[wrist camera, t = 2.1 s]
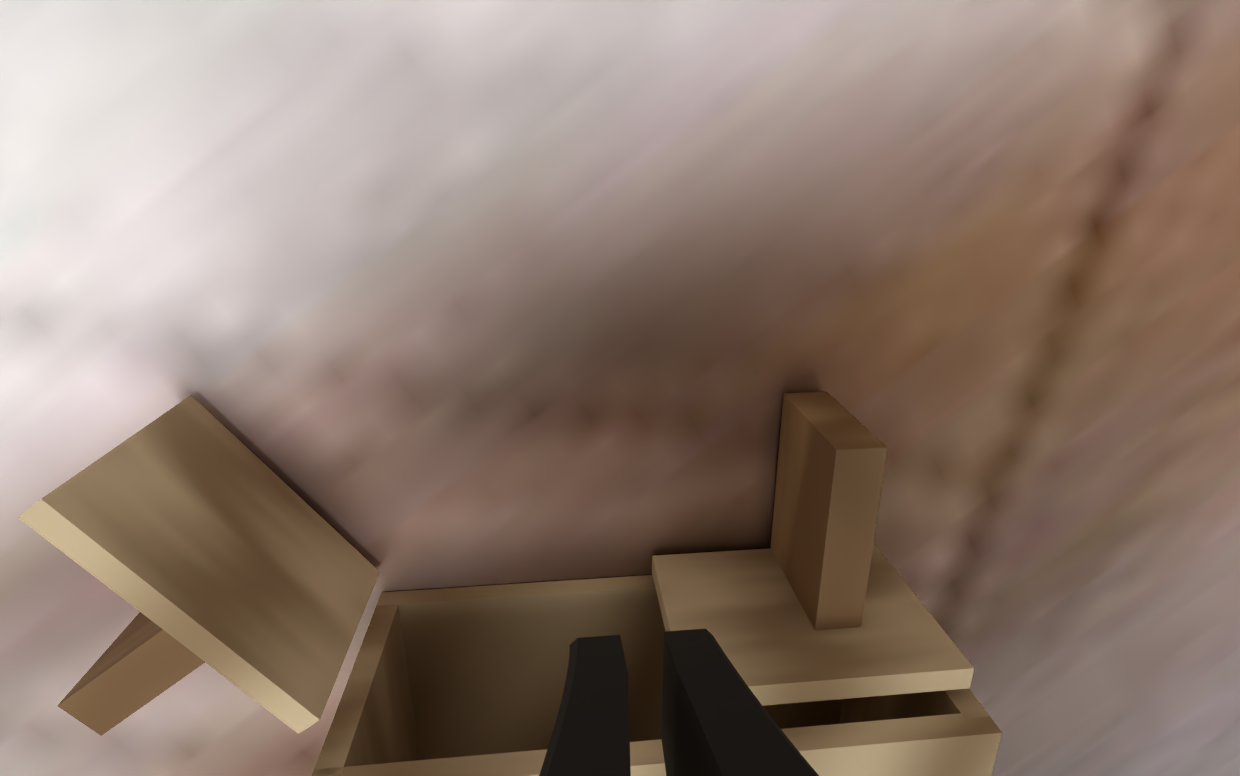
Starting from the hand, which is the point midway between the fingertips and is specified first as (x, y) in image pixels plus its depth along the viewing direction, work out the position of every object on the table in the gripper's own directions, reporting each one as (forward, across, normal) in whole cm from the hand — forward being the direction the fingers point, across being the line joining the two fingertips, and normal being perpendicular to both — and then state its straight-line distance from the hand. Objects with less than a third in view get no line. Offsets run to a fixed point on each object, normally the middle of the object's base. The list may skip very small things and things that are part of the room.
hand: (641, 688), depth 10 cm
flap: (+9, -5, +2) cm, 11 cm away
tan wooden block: (+9, +11, +3) cm, 14 cm away
